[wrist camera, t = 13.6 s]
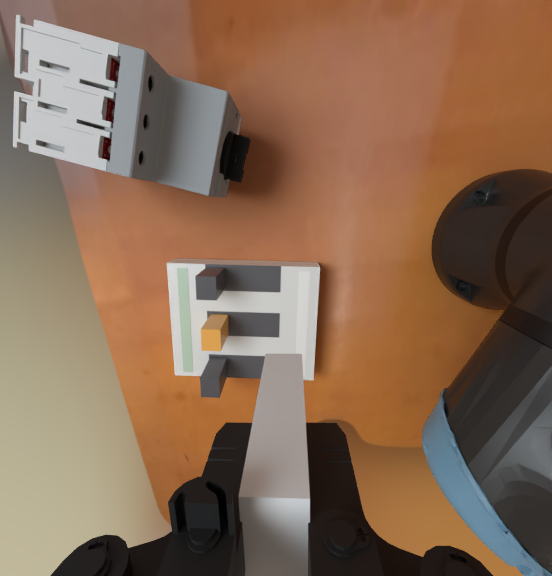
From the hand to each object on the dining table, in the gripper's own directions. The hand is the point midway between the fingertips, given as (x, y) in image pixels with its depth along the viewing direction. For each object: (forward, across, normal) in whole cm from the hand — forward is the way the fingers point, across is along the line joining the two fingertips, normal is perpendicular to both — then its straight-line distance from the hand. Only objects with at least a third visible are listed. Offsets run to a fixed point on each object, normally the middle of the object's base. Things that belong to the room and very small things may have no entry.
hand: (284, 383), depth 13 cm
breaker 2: (+22, +9, +11) cm, 26 cm away
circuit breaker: (+25, +11, -13) cm, 30 cm away
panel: (+25, +6, +6) cm, 26 cm away
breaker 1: (+22, +8, 0) cm, 23 cm away
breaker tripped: (+22, +8, +6) cm, 24 cm away
